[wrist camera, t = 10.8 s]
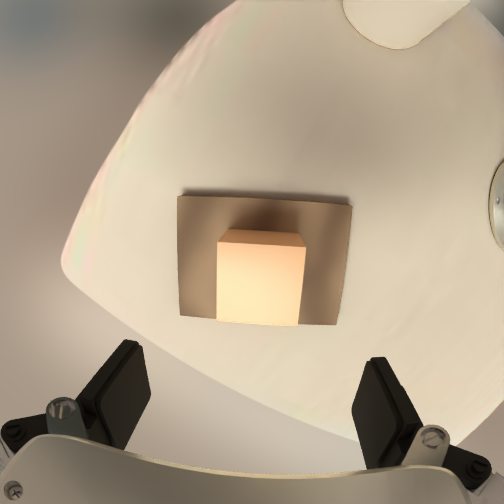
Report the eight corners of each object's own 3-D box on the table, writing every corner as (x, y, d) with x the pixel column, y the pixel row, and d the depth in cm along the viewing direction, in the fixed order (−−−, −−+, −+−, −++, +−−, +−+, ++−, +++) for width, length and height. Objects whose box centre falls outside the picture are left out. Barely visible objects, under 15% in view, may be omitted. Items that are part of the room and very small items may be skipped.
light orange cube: (298, 233, 26) (306, 247, 21) (292, 298, 28) (297, 326, 22) (227, 228, 26) (217, 242, 21) (226, 294, 28) (216, 320, 22)
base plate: (348, 204, 26) (364, 210, 22) (333, 318, 29) (343, 342, 25) (182, 195, 27) (164, 199, 22) (183, 309, 30) (169, 331, 25)
